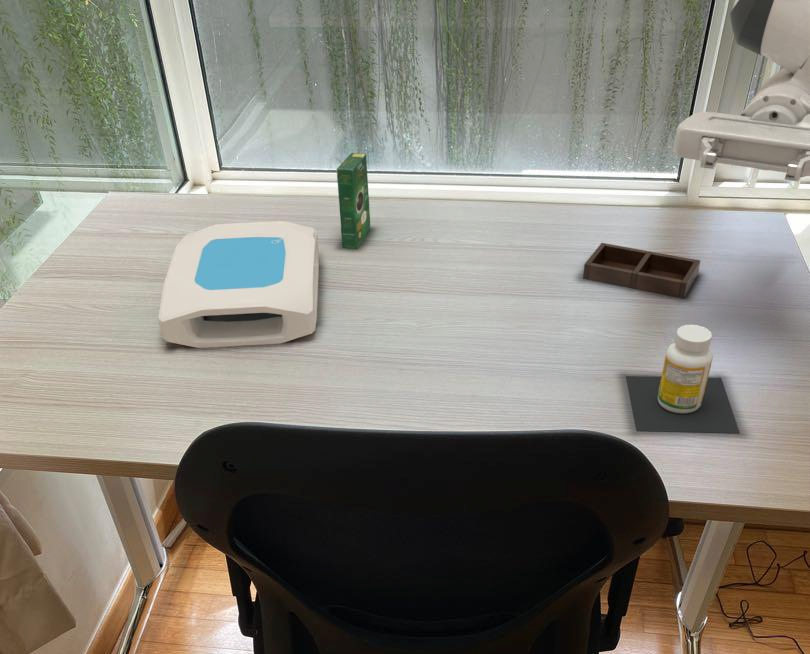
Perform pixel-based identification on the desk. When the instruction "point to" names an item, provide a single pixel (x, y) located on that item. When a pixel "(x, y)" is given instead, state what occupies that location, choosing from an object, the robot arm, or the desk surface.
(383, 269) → the desk surface
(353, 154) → the coffee box
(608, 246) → the jar stand
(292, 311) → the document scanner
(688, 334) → the supplement bottle
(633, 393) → the mat
